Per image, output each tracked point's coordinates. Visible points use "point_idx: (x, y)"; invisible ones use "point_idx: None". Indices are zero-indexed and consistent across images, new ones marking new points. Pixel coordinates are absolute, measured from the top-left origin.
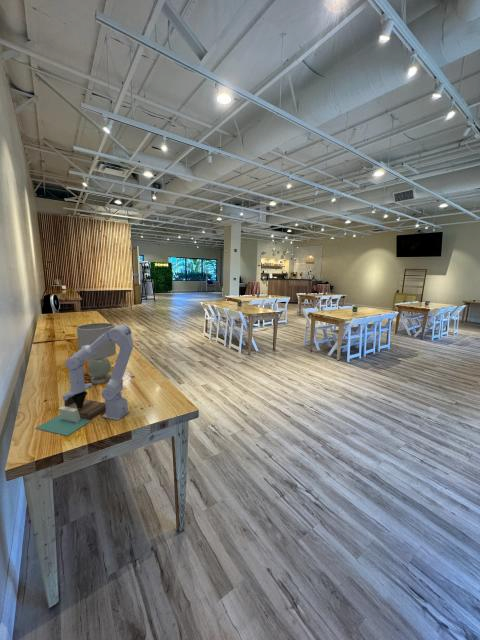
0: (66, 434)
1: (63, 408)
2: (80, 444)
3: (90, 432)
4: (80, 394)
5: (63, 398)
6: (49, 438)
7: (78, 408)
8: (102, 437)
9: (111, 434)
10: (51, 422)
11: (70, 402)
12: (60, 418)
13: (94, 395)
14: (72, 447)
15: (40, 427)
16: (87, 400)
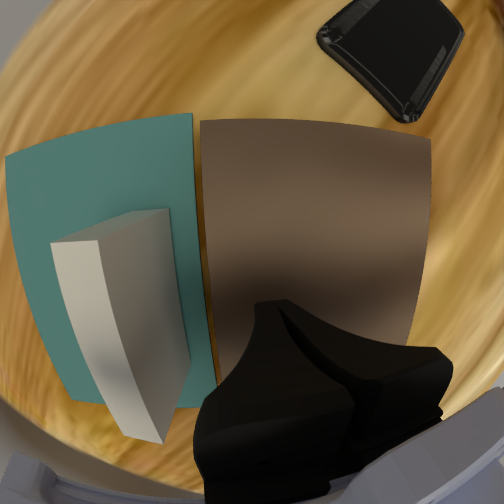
0: (70, 391)
1: (81, 311)
2: (93, 454)
3: (151, 449)
4: (327, 473)
5: (16, 474)
6: (16, 335)
7: (273, 283)
8: (160, 480)
9: (188, 487)
10: (71, 179)
11: (373, 38)
12: (137, 183)
13: (479, 134)
14: (69, 443)
15: (15, 179)
16: (420, 218)
